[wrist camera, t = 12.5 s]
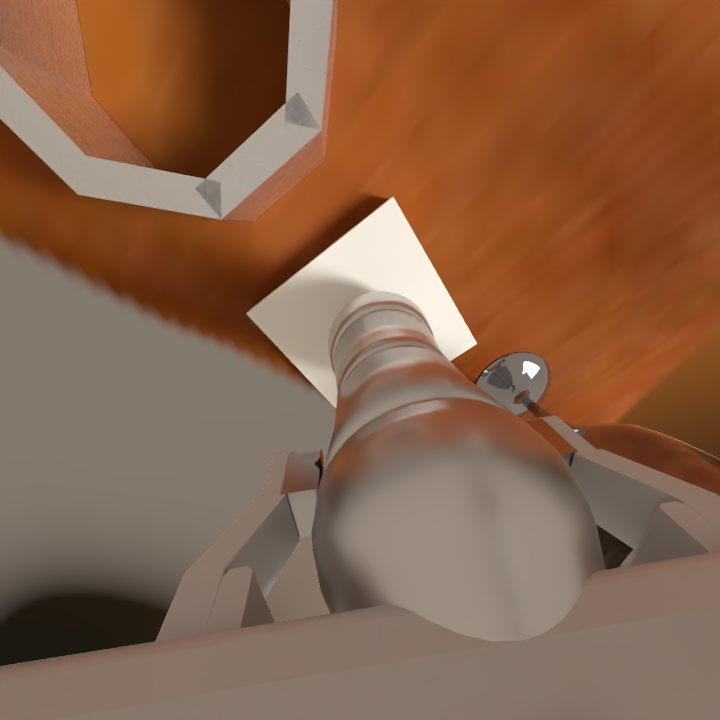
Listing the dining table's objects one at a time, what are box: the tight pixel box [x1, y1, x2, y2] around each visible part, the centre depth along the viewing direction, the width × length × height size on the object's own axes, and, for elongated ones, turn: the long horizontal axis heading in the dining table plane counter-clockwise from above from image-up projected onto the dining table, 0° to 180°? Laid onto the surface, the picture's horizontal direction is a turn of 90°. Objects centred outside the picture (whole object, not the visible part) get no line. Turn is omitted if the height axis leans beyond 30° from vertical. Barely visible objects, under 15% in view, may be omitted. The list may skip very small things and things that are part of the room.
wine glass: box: [476, 352, 720, 570], centre depth 19 cm, size 8×8×15 cm
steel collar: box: [0, 0, 338, 222], centre depth 13 cm, size 14×14×6 cm
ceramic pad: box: [246, 197, 477, 408], centre depth 21 cm, size 12×12×2 cm
